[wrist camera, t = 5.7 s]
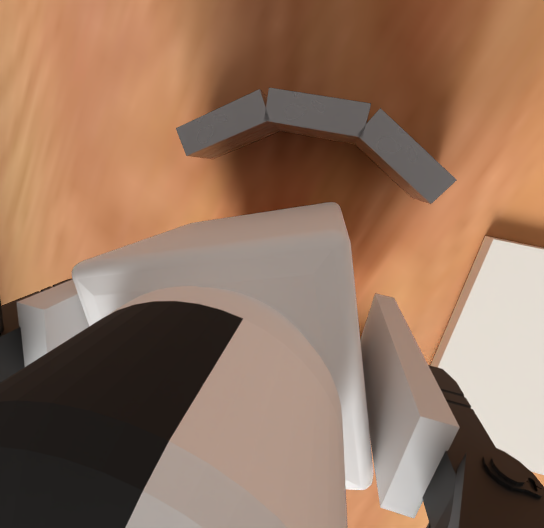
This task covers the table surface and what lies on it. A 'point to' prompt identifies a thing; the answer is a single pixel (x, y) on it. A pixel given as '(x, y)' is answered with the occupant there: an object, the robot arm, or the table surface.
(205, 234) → the medicine bottle
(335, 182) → the table surface
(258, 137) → the cradle
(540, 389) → the tile
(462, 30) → the table surface
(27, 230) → the table surface
